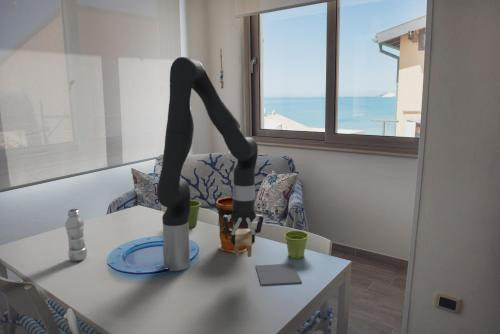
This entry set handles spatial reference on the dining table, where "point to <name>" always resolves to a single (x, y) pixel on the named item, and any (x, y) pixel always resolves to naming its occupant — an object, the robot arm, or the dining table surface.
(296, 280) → the mat
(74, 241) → the plastic bottle
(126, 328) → the dining table surface
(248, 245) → the notched wooden block
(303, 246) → the plant pot
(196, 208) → the plant pot
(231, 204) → the vessel
